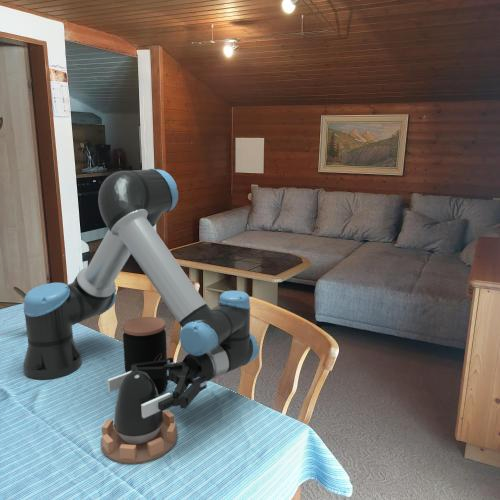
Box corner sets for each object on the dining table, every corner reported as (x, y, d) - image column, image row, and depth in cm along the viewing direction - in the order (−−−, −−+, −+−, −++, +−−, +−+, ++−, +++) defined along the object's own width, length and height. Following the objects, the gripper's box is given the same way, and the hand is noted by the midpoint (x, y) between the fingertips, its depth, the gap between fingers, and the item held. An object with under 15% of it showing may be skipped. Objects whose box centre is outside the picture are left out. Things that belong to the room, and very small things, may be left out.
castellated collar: (89, 435, 99) (88, 422, 98) (155, 409, 109) (154, 397, 108) (120, 475, 87) (119, 460, 86) (191, 442, 97) (191, 428, 96)
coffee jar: (158, 402, 112) (155, 334, 108) (118, 397, 114) (114, 330, 110) (173, 381, 122) (171, 318, 118) (137, 376, 124) (133, 315, 121)
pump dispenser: (159, 418, 104) (156, 357, 101) (168, 445, 95) (165, 378, 91) (113, 427, 101) (108, 364, 97) (117, 456, 91) (112, 388, 88)
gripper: (241, 399, 100) (159, 441, 86) (174, 361, 118) (97, 391, 103) (241, 368, 99) (158, 405, 84) (173, 334, 116) (95, 361, 101)
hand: (124, 398), depth 93 cm, fingers open, 13 cm apart
